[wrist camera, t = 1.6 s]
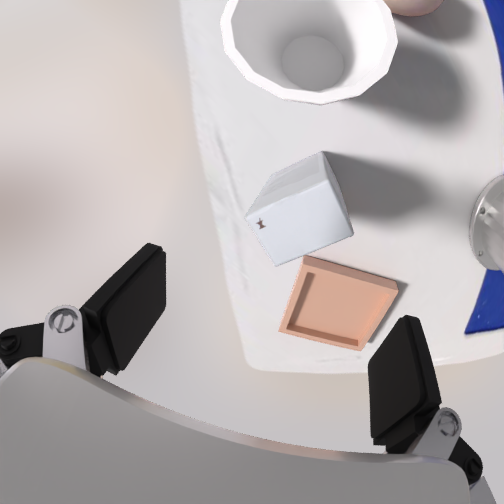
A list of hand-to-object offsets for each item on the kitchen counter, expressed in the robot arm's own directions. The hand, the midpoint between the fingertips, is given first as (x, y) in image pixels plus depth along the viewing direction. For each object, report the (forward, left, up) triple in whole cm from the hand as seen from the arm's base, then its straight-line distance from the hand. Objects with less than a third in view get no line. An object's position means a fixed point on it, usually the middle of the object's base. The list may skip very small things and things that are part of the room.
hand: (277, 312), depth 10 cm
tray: (-8, +14, -20) cm, 26 cm away
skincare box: (0, 0, -20) cm, 20 cm away
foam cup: (+2, -12, -20) cm, 24 cm away
